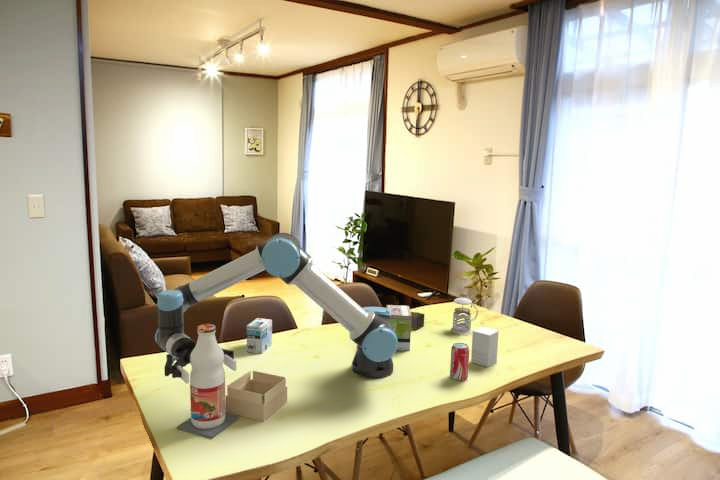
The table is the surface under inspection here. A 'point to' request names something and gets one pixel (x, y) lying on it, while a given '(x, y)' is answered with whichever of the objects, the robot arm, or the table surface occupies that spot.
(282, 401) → the carton
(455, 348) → the soda can
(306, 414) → the table surface
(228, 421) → the coaster
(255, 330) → the light bulb box
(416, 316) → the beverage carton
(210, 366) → the fruit juice
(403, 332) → the tea box
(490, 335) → the supplement box
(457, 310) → the french press
